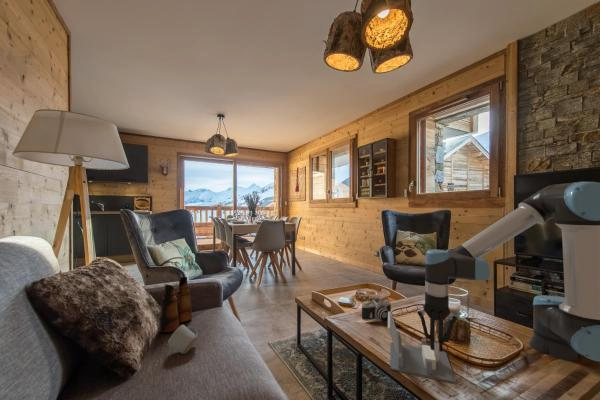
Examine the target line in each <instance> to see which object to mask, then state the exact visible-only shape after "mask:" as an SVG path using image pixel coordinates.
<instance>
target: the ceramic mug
mask: <svg viewBox="0 0 600 400" xmlns="http://www.w3.org/2000/svg"><path fill="white" fill-rule="evenodd" d="M197 337H198V330H197V329H196V328H194V327H193V326H186V325H185V324H181V325H179V328H178V329H176V330H174V331H173V333H172V335H171V336H170V337H169V338H168V340H167V343H168V344H169V345H170V346H171V347H172V348H174V349H175V350H177V351H178V352H179V353H180V354H183V355H186V354H187V353H188V352H189V351H190V350H191V349H192V347H193V346H194V345H195V343H196V342H197V340H198V339H197Z"/></svg>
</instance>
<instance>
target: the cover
mask: <svg viewBox="0 0 600 400" xmlns="http://www.w3.org/2000/svg"><path fill="white" fill-rule="evenodd" d="M387 330H388V332H389V335H390V338H391V342H392V343H393V344H394V347H395V350H396V352H397V354H398V353H399V339H398V332H397V331H398V330H397V327H396V324H395V322H394V318H393V316H392V312H391V313H390V311H389V312H388V321H387Z"/></svg>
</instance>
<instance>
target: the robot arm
mask: <svg viewBox="0 0 600 400" xmlns="http://www.w3.org/2000/svg"><path fill="white" fill-rule="evenodd" d="M551 219H554V224H555V225H556V226H557V227H558V228H560V229H561V237H562V238H561V239H562V240H561V241H562V259H563V261H562V263H563V284H564V286H563V287H564V297H560V296H554V295H553V296H552V295H546V294H545V295H543V294H541V295H535V296H534V297H533V302H532V307H533V309H532V311H533V312H532V313H533V314H532V316H533V318H532V319H533V321H532V323H533V325H532V327H533V328H532V329H533V330H532V332H533V333H532V335H531V337H530V339H529V341H528V345H529V346H530V348H531V349H533V350H535V351H536V352H538V353H541V354H547V355H548V356H550V357H552V358H553V359H559V360H564V361H574V362H575V361H579V359H580V358H583V356H584V357H585V358H587V359H589V360H591V361H595V362H599V363H600V182H596V181H576V182H566V183H557V184H552V185H548V186H546V187H544V188H542V189H540V190H538V191H537V192H535V193H533V194H532V195H530V196H529V197H526V199H524V200H523V201H521V202H520V203H518V207H517V208H516V209H514V210H513V211H511V212H510V213H508V214H507V215H505V216H503V217H502V218H500V219H499V220H497V221H496V222H494V223H492V224H491V225H490V226H487V227H486V228H485V229H483V230H481V231H480V232H478V233H477V234H476V235H474V236H472V237H471V238H469V239H467V240H466V241H464V242H463V243H461V244H460V245H458V246H457V247H455V248H449V249H446V250H445V249H435V248H433V249H428V250H426V252H425V260H424V266H425V267H424V271H425V272H424V273H425V275H424V278H425V279H424V283H425V284H424V292H425V293H424V304H423V307H422V308H421V309H420V308H417V309H416V313H417V315H418V317H419V318H420V322H421V325H422V330H423V334H424V337H425V338H424V339H426V340H429V346H430V348H431V350H433V352H434V355H435V359H436V361H438V362H439V351H441V352H443V345H444V343H449V341H450V337H451V335H452V331H453V328H454V324H455V323H456V321H457V320H458V317H457V315H456V314H455V313H452V312H451V310H450V307H449V304H450V303H449V301H450V299H449V295H450V293H449V292H450V291H449V290H450V286H449V285H450V281H449V280H450V279H455V280H457V279H459V280H467V281H476V282H477V281H478V282H479V281H480V282H481V281H487V280H489V278H490V276H491V268H490V264H489V263H488V260H486V259H484V258H483V257H484V256H486V255H488V254H489V253H491V252H492V251H493V250H495V249H497V248H498V247H500V246H501V245H503V244H505V243H507V242H508V241H510V240H512V239H513V238H514V237H516V236H518V235H519V234H521V233H523V232H525V231H526V230H528V229H530V228H531V227H532V226H535V225H536V224H540V225H541V224H544V223H546V222H547V221H549V220H551ZM425 313H426V315H427V317H428V318H429V332H428V328H427V327H428V326H427V323H426V320H425ZM447 317H448V320H447V323H446V327H445V329H444V320H445V319H446V318H447ZM436 321H437V338H436V335H435V334H436V327H435V325H436Z"/></svg>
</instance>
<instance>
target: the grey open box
mask: <svg viewBox="0 0 600 400" xmlns="http://www.w3.org/2000/svg"><path fill="white" fill-rule="evenodd" d="M397 332H398V339H399V353H398V354H397V352H396V350H395V347H394V344H393V342H392V341H391V342H390V348H389V349H390V370H391V371H393V372H400V373H405V374H408V375H412V376H413V375H414V376H418V377H419V376H420V377H423V378H428V379H433V380H438V381H442V382H447V383H452V384H457V380H456V376H455V373H454V371H453V369H452V366H451V363H450V361H449V358H448V355H447V353H446V351H442V352H441V351H439V362H438V361H436V370H432V361H431V359H426V368H425V365H424V361H423V356H422V347H420V346H419V347H418V346H414V345H413V346H412V345H408V344H403V341H402V335H401V331H400V330H397ZM422 345H427V339H426V338H421V346H422Z"/></svg>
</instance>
